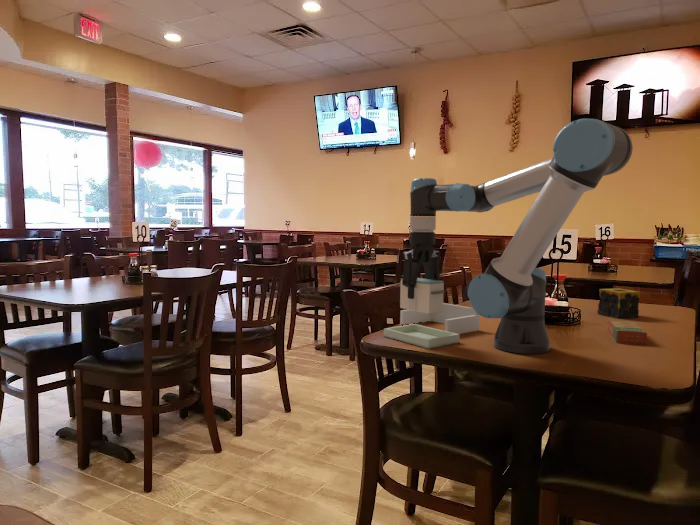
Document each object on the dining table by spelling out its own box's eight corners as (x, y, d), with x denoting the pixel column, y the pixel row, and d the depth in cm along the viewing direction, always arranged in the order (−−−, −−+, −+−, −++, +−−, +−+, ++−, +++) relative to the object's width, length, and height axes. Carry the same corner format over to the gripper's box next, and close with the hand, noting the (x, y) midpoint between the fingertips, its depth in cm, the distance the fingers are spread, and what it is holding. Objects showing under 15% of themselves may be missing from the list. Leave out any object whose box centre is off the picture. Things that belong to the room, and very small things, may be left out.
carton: (634, 334, 167) (635, 321, 167) (647, 346, 152) (648, 331, 152) (606, 332, 170) (607, 320, 169) (615, 344, 155) (616, 329, 154)
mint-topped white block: (445, 312, 152) (446, 281, 152) (431, 314, 149) (432, 282, 148) (414, 306, 163) (414, 277, 162) (400, 307, 159) (400, 278, 158)
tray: (459, 342, 153) (459, 334, 153) (428, 348, 146) (428, 340, 145) (413, 331, 168) (413, 323, 168) (383, 336, 161) (383, 328, 160)
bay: (478, 330, 171) (479, 309, 170) (447, 336, 162) (447, 313, 161) (431, 320, 188) (431, 300, 187) (400, 324, 179) (400, 304, 178)
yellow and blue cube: (597, 314, 202) (598, 288, 202) (617, 313, 206) (619, 288, 205) (617, 319, 193) (619, 292, 192) (639, 317, 196) (640, 291, 195)
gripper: (435, 230, 163) (433, 303, 165) (390, 231, 152) (388, 309, 154) (453, 231, 157) (451, 307, 159) (408, 231, 146) (406, 313, 148)
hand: (420, 308), depth 156 cm, fingers closed on mint-topped white block, 6 cm apart
